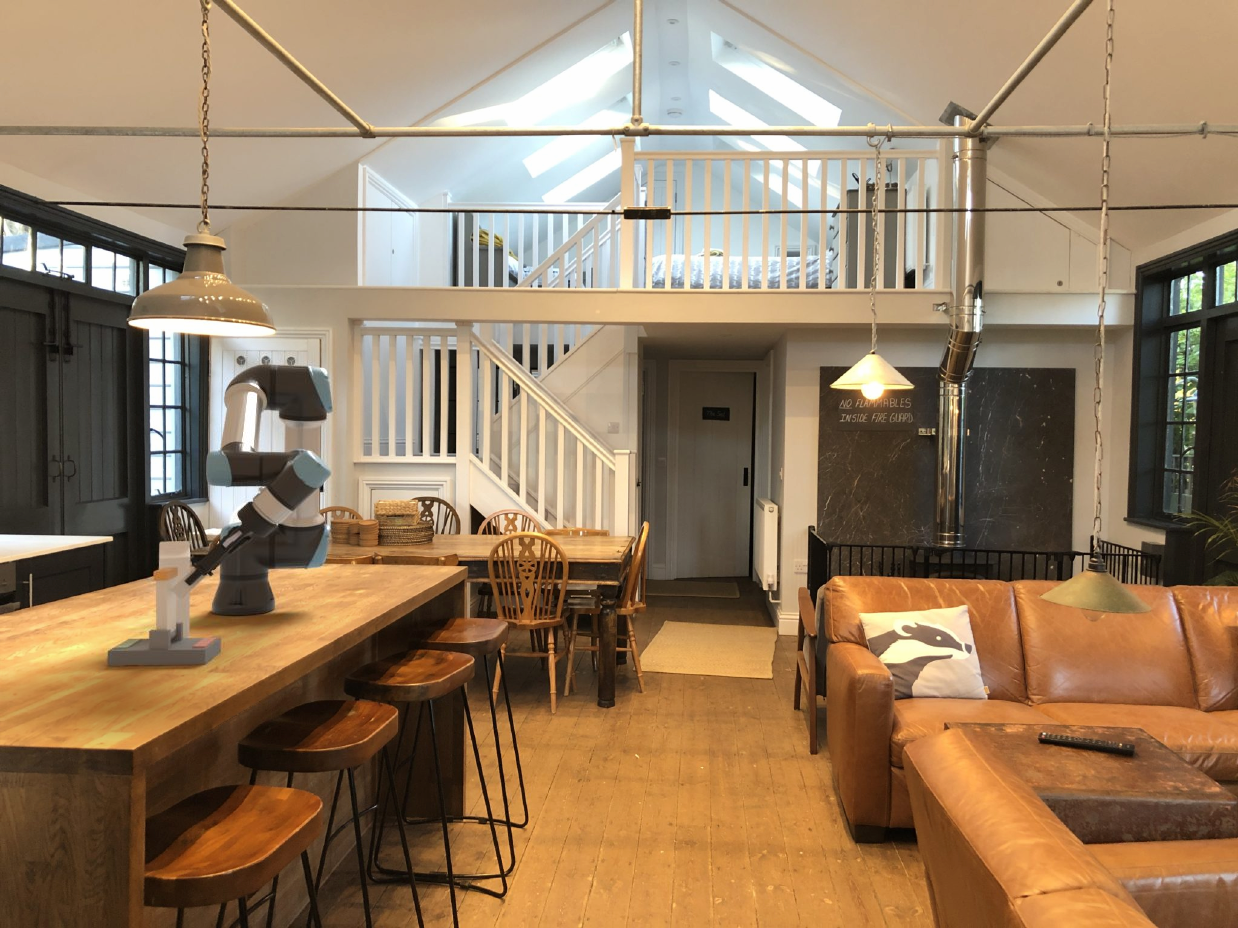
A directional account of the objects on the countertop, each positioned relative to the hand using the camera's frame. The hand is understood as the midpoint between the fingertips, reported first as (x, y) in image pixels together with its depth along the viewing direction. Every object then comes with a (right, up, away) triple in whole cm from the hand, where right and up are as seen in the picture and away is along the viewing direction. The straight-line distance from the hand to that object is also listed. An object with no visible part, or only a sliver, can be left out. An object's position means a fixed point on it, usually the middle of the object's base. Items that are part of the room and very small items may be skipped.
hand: (176, 593), depth 170 cm
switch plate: (-2, -13, 0) cm, 14 cm away
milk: (-9, -13, +16) cm, 22 cm away
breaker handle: (-2, -10, 0) cm, 10 cm away
